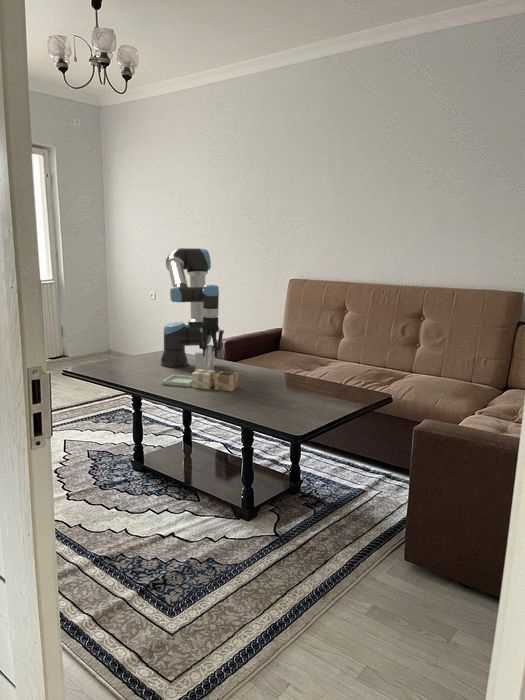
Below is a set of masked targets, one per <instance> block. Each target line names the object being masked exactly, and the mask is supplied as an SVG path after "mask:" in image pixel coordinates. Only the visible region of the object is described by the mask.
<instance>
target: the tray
mask: <svg viewBox="0 0 525 700" xmlns="http://www.w3.org/2000/svg"><path fill="white" fill-rule="evenodd" d="M161 386H170V387H171V386H172V387H181V388H189V387H192V375H182V374H171V375H170V376H168V377H165V379H162V380H161Z"/></svg>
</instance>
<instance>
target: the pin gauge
mask: <svg viewBox="0 0 525 700" xmlns="http://www.w3.org/2000/svg"><path fill="white" fill-rule="evenodd" d="M206 350H207V370H213V371H215V370H214V366H215V364H213V351H214V346H213V344H208V345H207V349H206Z"/></svg>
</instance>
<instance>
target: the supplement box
mask: <svg viewBox="0 0 525 700" xmlns="http://www.w3.org/2000/svg"><path fill="white" fill-rule="evenodd" d="M194 358H195V359H194V360H195V361H194V362H195V364H194V365H195V367H194V369H195V370H194V372H195V371H196V370H198V369H202V370H207V363H205V356H203V350H202V349H198V350H196V352H195V353H194Z"/></svg>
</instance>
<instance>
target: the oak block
mask: <svg viewBox="0 0 525 700" xmlns="http://www.w3.org/2000/svg"><path fill="white" fill-rule="evenodd" d="M238 374H239V373H238V372H236V371H224V370H223V371H222V370H220V371H218V372H217V373H215V385H214V390H215V391H216V390H218V391H225V392H228V391H229V392H233V391H234V390H235V389H236V388H238V379H239V378H238Z"/></svg>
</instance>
